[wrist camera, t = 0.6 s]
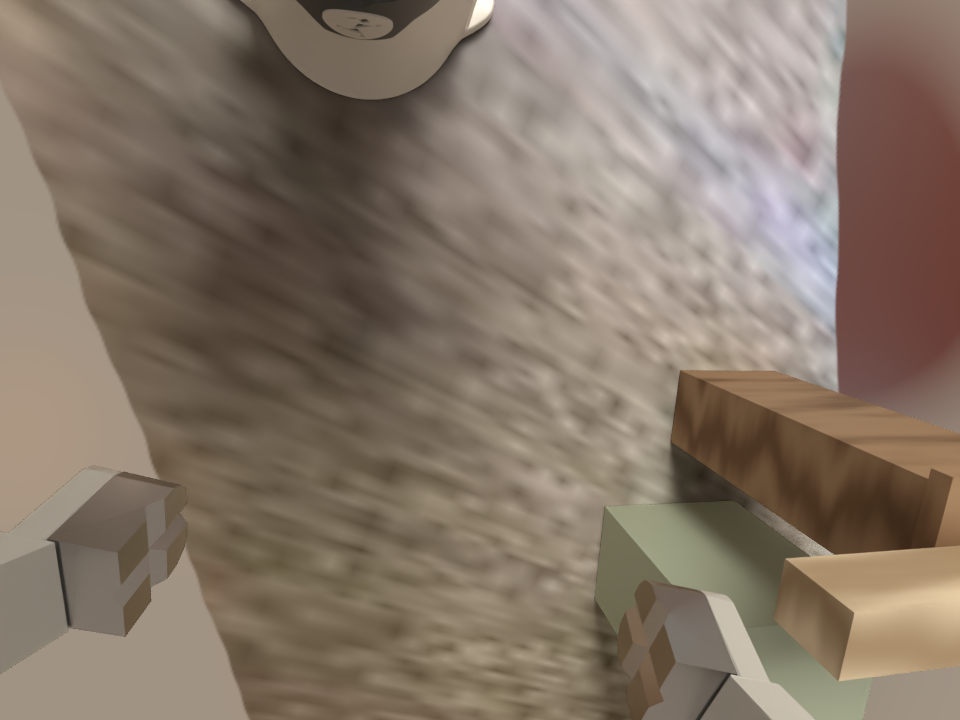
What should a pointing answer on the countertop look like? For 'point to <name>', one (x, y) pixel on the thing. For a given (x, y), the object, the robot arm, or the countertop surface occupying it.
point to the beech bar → (874, 610)
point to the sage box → (720, 585)
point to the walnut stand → (824, 459)
